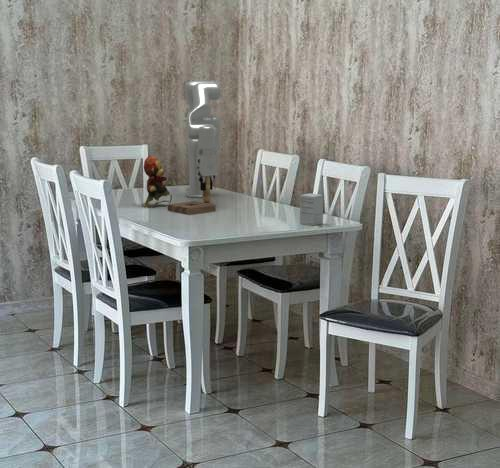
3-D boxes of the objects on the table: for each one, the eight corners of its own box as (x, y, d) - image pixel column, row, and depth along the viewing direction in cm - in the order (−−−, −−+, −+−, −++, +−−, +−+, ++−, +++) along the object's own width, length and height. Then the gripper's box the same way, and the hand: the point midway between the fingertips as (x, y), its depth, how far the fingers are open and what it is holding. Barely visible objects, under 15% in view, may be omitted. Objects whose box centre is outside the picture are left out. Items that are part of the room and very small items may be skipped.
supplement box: (309, 221, 360) (309, 193, 357) (323, 223, 355) (323, 194, 353) (299, 223, 354) (299, 194, 352) (313, 225, 350) (313, 196, 347)
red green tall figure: (151, 206, 389) (142, 154, 389) (137, 210, 403) (129, 160, 403) (179, 202, 396) (171, 151, 396) (165, 206, 411) (157, 157, 411)
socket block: (167, 210, 387) (167, 204, 386) (193, 207, 398) (193, 201, 397) (189, 214, 376) (189, 208, 375) (215, 211, 387) (215, 204, 386)
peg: (201, 196, 397) (201, 171, 395) (206, 195, 400) (206, 170, 397) (206, 197, 395) (206, 172, 392) (211, 196, 397) (211, 171, 394)
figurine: (213, 201, 416) (213, 178, 414) (217, 203, 410) (217, 179, 408) (197, 202, 413) (197, 178, 411) (200, 204, 408) (200, 180, 405)
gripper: (198, 154, 384) (198, 193, 388) (224, 151, 395) (224, 189, 400) (188, 152, 389) (188, 190, 394) (214, 149, 401) (214, 187, 405)
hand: (206, 189), depth 397 cm, fingers closed on peg, 3 cm apart
